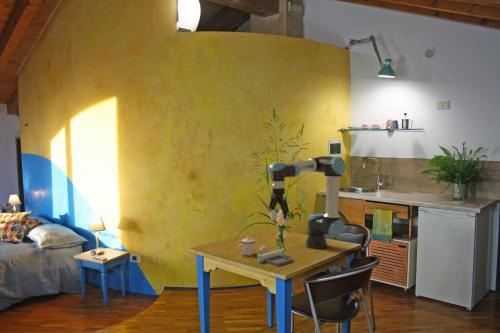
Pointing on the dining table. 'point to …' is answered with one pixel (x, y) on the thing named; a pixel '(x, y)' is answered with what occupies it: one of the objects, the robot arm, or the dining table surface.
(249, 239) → the teacup with lid
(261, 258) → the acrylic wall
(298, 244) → the dining table surface
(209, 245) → the dining table surface
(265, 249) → the ball
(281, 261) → the tray
